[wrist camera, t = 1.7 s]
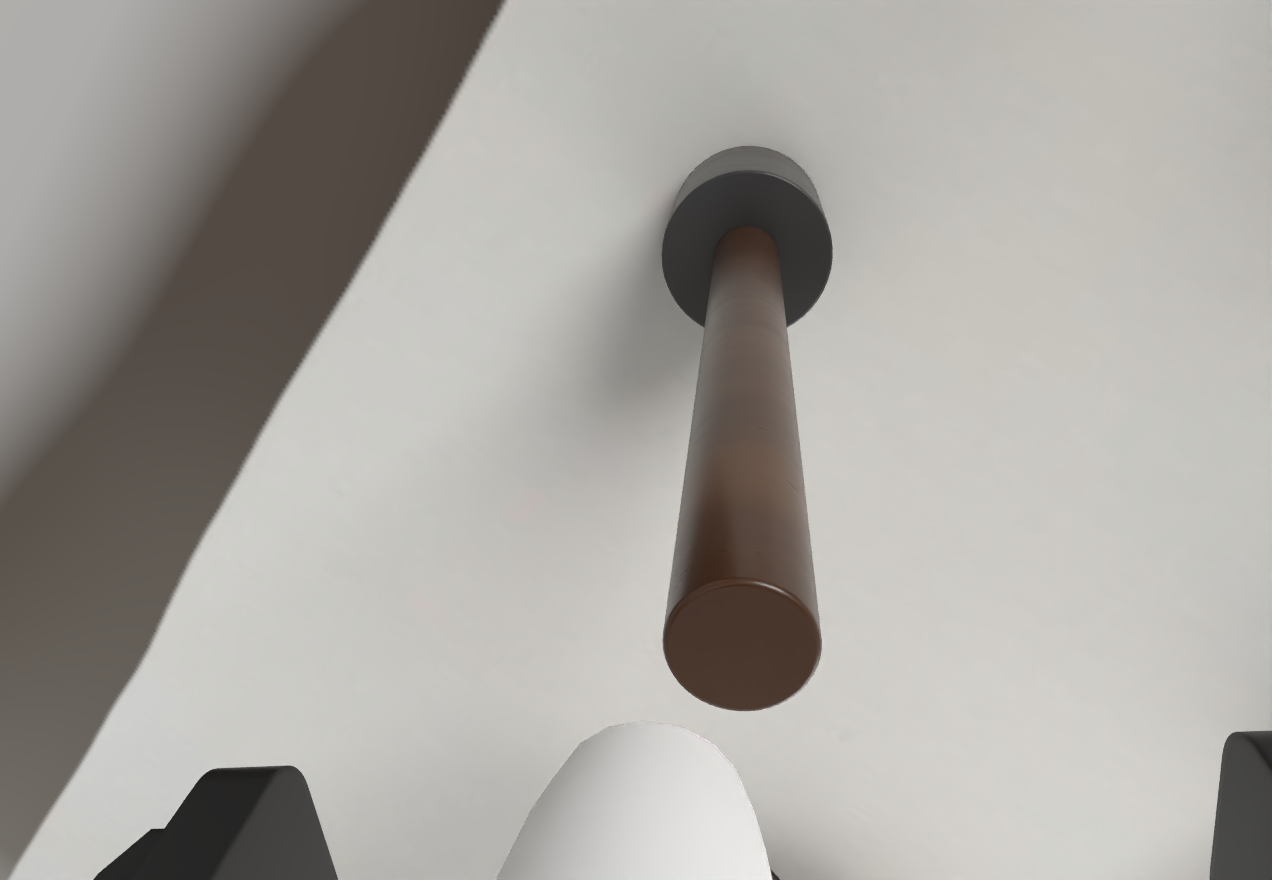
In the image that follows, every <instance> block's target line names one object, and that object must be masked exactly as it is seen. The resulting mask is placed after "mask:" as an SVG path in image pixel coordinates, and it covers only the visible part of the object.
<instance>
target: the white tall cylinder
mask: <svg viewBox="0 0 1272 880" xmlns="http://www.w3.org/2000/svg"><path fill="white" fill-rule="evenodd" d="M497 880H772V875H771V871H770V866H769V862H768V857H767V853H766V848H765V845H764V842H763V838H762V835H761V832H760V828H759V825H758V822H757V818H756V815H755V812H754V810H753V808H752V805H751V803H750V801H749V798H748V796H747V794H746V792H745V789H744V787H743V785H742V783H741V780H740V778H739V776H738V773H737V771H736V769H735V767H734V766H733V765H732V764H731V763H730V762H729V761H728V759H727V758H726V757H725V756H724V755H723V754H722V753H721V752H720V751H719V749H718V748H717V747H716V746H715V745H714V744H713V743H711V742H710V741H708V740H706V739H704V738H702V737H700V736H698V735H696V734H694V733H692V732H690V731H688V730H686V729H685V728H683V727H680V726H674V725H668V724H661V723H655V722H649V721H640V722H633V723H627V724H621V725H615V726H609V727H607V728H605V729H604V730H602V731H600V732H599V733H597V734H595V735H593V736H592V737H590V738H588V739H587V740H585V741H583V742H581V743H580V744H579V746H578V747H577V748H576V749H575V751H574V752H573V753H572V755H571V756H570V757H569V758H568V760H567V761H566V762H565V764H564V765H563V766H562V767H561V769H560V770H559V771H558V773H557V774H556V775H555V777H554V778H553V779H552V780H551V782H550V783H549V785H548V786H547V788H546V789H545V791H544V792H543V793H542V795H541V796H540V798H539V799H538V801H537V802H536V804H535V805H534V806H533V808H532V809H531V811H530V813H529V815H528V817H527V819H526V821H525V823H524V825H523V827H522V829H521V831H520V833H519V835H518V837H517V839H516V841H515V843H514V845H513V847H512V849H511V851H510V853H509V855H508V857H507V859H506V861H505V863H504V865H503V867H502V869H501V871H500V873H499V875H498V877H497Z"/></svg>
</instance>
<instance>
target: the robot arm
mask: <svg viewBox="0 0 1272 880" xmlns="http://www.w3.org/2000/svg"><path fill="white" fill-rule="evenodd" d="M94 880H338V878H337V875H336V872H335V868H334V865H333V862H332V859H331V856H330V853H329V850H328V847H327V844H326V841H325V838H324V834H323V831H322V828H321V825H320V822H319V819H318V816H317V813H316V810H315V807H314V804H313V800H312V797H311V794H310V791H309V788H308V785H307V783H306V780H305V778H304V776H303V775H302V773H301V772H300V771H299V770H298V769H297V768H295V767H294V766H267V767H242V768H217V769H212V770H210V771H209V772H207V773H206V774H204V775H203V776H202V777H201V778H200V779H199V781H198V782H197V783H196V784H195V786H194V787H193V789H192V790H191V792H190V793H189V794H188V796H187V797H186V799H185V800H184V802H183V803H182V804H181V806H180V807H179V809H178V810H177V812H176V813H175V814H174V816H173V817H172V819H171V820H170V822H169V823H168V824H167V826H166V827H165V829H151V830H150V831H149V832H147V833H146V834H145V835H144V836H143V837H141V838H140V839H139V840H138V841H137V842H136V843H134V844H133V845H132V846H131V847H130V848H128V849H127V850H126V851H125V852H124V853H122V854H121V855H120V856H119V857H118V858H116V859H115V860H114V861H113V862H112V863H110V864H109V865H108V866H107V867H106V868H104V869H103V870H102V871H101V872H100V873H98V875H97V876H96V877H95V879H94ZM1210 880H1272V731H1249V732H1235V733H1232V734H1231V735H1230V736H1229V737H1228V738H1227V740H1226V742H1225V745H1224V749H1223V755H1222V764H1221V773H1220V782H1219V792H1218V801H1217V810H1216V820H1215V829H1214V838H1213V847H1212V857H1211V866H1210Z"/></svg>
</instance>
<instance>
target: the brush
mask: <svg viewBox="0 0 1272 880" xmlns="http://www.w3.org/2000/svg"><path fill="white" fill-rule="evenodd" d="M832 250H833V247H832V239H831V234H830V230H829V227H828V224H827V221H826V218H825V215H824V212H823V209H822V206H821V203H820V200H819V197H818V194H817V192H816V190H815V187H814V185H813V183H812V182H811V180H810V178H809V177H808V176H807V174H806V173H805V172H804V170H803V169H802V168H801V167H800V166H799V165H797V164H796V163H795V162H794V161H793V160H791V159H790V158H788V157H787V156H785V155H783V154H781V153H779V152H777V151H774V150H771V149H767V148H763V147H755V146H742V147H735V148H730V149H727V150H724V151H721V152H719V153H717V154H715V155H713V156H711V157H709V158H708V159H706V160H705V161H703V162H702V163H701V164H700V165H699V166H698V167H696V168H695V170H694V171H693V172H692V173H691V174H690V175H689V176H688V178H687V179H686V181H685V182H684V184H683V186H682V188H681V190H680V192H679V194H678V197H677V200H676V203H675V206H674V208H673V211H672V214H671V217H670V220H669V222H668V225H667V228H666V231H665V234H664V239H663V244H662V267H663V272H664V277H665V280H666V283H667V286H668V288H669V290H670V292H671V294H672V296H673V298H674V299H675V301H676V302H677V304H678V305H679V306H680V308H681V309H682V310H683V311H684V312H685V313H686V314H687V315H688V316H689V317H690V318H691V319H692V320H694V321H695V322H697V323H698V324H700V325H701V326H703V327H705V328H704V336H703V343H702V351H701V358H700V365H699V373H698V380H697V387H696V395H695V402H694V410H693V417H692V424H691V432H690V439H689V446H688V454H687V461H686V469H685V476H684V483H683V491H682V498H681V506H680V513H679V520H678V528H677V535H676V542H675V550H674V557H673V565H672V572H671V579H670V587H669V594H668V602H667V609H666V616H665V624H664V631H663V651H664V655H665V659H666V661H667V664H668V666H669V668H670V670H671V672H672V674H673V675H674V677H675V678H676V679H677V681H678V682H679V683H680V684H681V685H682V686H683V687H684V688H685V689H686V690H687V691H688V692H689V693H691V694H692V695H693V696H695V697H696V698H698V699H700V700H701V701H703V702H706V703H708V704H710V705H713V706H716V707H719V708H723V709H727V710H734V711H755V710H761V709H766V708H770V707H773V706H776V705H778V704H780V703H783V702H785V701H787V700H788V699H790V698H791V697H793V696H794V695H796V694H797V693H798V692H799V691H801V690H802V688H803V687H804V686H805V685H806V684H807V683H808V681H809V680H810V679H811V677H812V676H813V674H814V672H815V670H816V668H817V666H818V663H819V660H820V656H821V650H822V640H821V631H820V622H819V613H818V604H817V595H816V586H815V577H814V568H813V559H812V550H811V541H810V532H809V523H808V514H807V505H806V496H805V487H804V478H803V469H802V460H801V451H800V442H799V433H798V424H797V415H796V406H795V397H794V388H793V379H792V370H791V361H790V352H789V343H788V335H787V327H789V326H790V325H792V324H794V323H795V322H797V321H798V320H799V319H800V318H802V317H803V316H804V315H805V314H806V313H807V312H808V311H809V310H810V309H811V308H812V307H813V306H814V304H815V303H816V302H817V300H818V299H819V297H820V295H821V294H822V292H823V290H824V288H825V286H826V283H827V281H828V278H829V274H830V271H831V265H832Z"/></svg>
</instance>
